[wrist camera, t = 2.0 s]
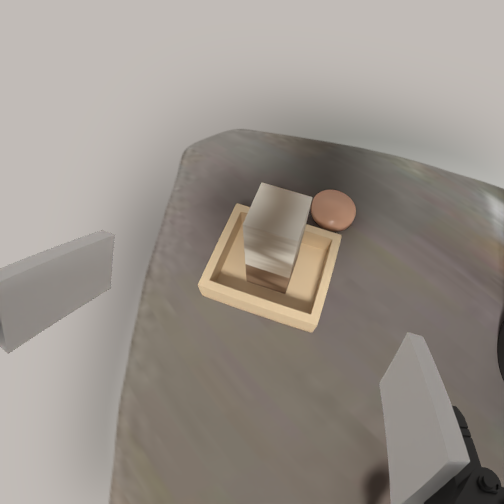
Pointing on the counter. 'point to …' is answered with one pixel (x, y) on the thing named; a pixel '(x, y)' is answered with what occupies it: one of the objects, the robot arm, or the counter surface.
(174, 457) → the counter surface
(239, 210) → the beige open tray
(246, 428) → the counter surface
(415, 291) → the counter surface
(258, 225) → the two-tone block
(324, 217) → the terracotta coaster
